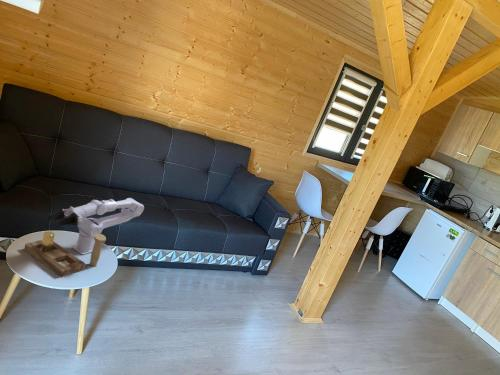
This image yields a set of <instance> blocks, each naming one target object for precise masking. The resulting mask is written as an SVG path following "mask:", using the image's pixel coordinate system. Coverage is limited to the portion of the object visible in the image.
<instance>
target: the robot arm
mask: <svg viewBox="0 0 500 375" xmlns="http://www.w3.org/2000/svg"><path fill="white" fill-rule="evenodd" d="M117 209H121V210H120V212H118V213H114V214H111V215H107V216H103V215H104V214H105V213H109V212H114V211H116V210H117ZM144 210H145V206H144V204H142V203H140V202H138V201H136V200H135V199H133V198H132V197H128V198H125V199H123V200H118V201H115V200H114V199H112V198H109V199H107V200H98V199H92V200H91V201H90V202H87V204H83V205H80V206H76V207H73V206H69V208H66V209H64V208H63V207H59V208H58V209H56V211H54V212H53V213H51V214H50V215H48V216H47V219H48V221H57V220H58V225H59V226H69V225H71V226H77V228H78V231H79V233H78V238H77V241H76V244H75V245H73V246H71V248H72V249H73V250H75V251H76V252H78V253H79V254H81V255H86V254H89V253H92V250H93V247H94V244H95V240H94V235H95V234H102V232H103V230H104V229H106V228H109V227H113V226H117V225H120V224H123V223H125V222H129V221H130V220H131V219H134V218H137V217H140V216H141V214H143V212H144ZM94 215H98V216H103V217H99V218H93V217H90V216H94ZM64 216H65V217H64Z"/></svg>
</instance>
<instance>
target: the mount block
mask: <svg viewBox="0 0 500 375" xmlns="http://www.w3.org/2000/svg"><path fill="white" fill-rule="evenodd" d="M42 240H43V239H40V240H35V241H31V242H26V243H25V244H24V251H25V252H27V253H28V254H30V255H31V256H32V257H34V258H35V259H36V260H37V261H39V262H40V263H41V264H43V265H44V266H46V267H47V268H48V269H50V270H51V271H52V270H53V271H52V272H54V273H55V274H56V273H57V274H56V275H58V276H59V277H60V276H61V277H60V278H63V277H65V276H69V275H72V274H74V273H77V272H80V271H83V270H85V268H86V263H85V262H84V261H82V259H79V257H77V256H75V255H74V254H73V253H72V252H70V251H69V250H67V249H65V248H64V247H63V246H61V245H60V244H58V243H57V242H56V241H54V240H53V244H52V249H51V251H48V252H43V251H42V250H41V245H42Z"/></svg>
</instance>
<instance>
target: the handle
mask: <svg viewBox="0 0 500 375" xmlns="http://www.w3.org/2000/svg"><path fill="white" fill-rule="evenodd" d="M94 240H95V244H94V247H93V250H92V252H91V255H90V258H89V259H90V261H89V265H90V266H92V267H96V266H97V265H98V262H99V260H100V258H101V252H102V247H103V243H105V242H106V240H107V237H106V235H104V234H102V233H100V234H95V235H94Z"/></svg>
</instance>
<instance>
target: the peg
mask: <svg viewBox="0 0 500 375" xmlns="http://www.w3.org/2000/svg"><path fill="white" fill-rule="evenodd" d="M41 240H42V245H41V249H40V250H42V251H43V252H48V251H51V249H52V244H53V241H54V240H55V233H54V232H52V231H45V232H43V236H42V239H41Z"/></svg>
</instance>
